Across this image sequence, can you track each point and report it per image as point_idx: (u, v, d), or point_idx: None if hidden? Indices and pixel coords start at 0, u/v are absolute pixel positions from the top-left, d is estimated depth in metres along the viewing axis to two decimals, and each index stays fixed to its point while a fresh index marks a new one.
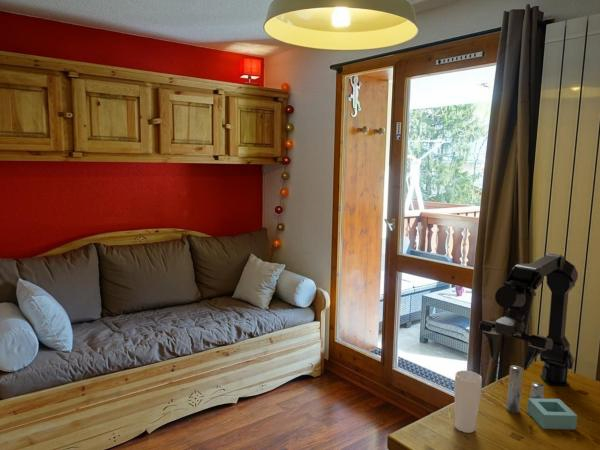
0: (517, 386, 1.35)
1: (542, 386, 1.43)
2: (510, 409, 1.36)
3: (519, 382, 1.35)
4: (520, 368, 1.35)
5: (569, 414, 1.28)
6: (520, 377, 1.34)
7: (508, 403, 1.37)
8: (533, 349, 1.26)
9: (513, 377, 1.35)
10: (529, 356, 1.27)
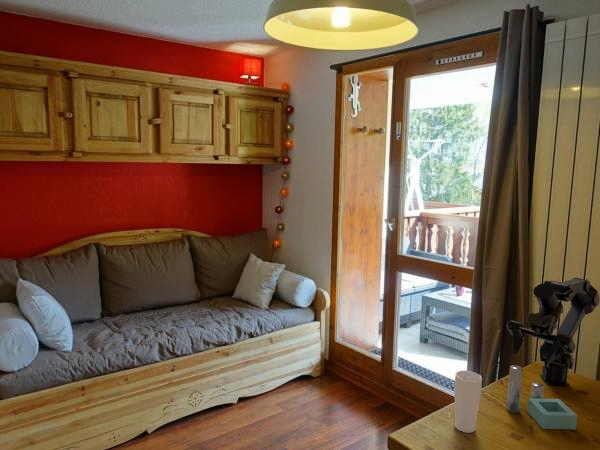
0: (517, 386, 1.35)
1: (542, 386, 1.43)
2: (510, 409, 1.36)
3: (519, 382, 1.35)
4: (520, 368, 1.35)
5: (569, 414, 1.28)
6: (520, 377, 1.34)
7: (508, 403, 1.37)
8: (558, 344, 1.37)
9: (513, 377, 1.35)
10: (552, 352, 1.37)
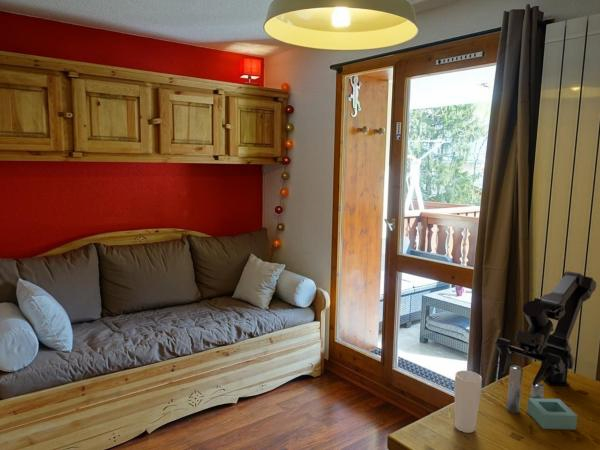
0: (517, 386, 1.35)
1: (542, 386, 1.43)
2: (510, 409, 1.36)
3: (519, 382, 1.35)
4: (520, 368, 1.35)
5: (569, 414, 1.28)
6: (520, 377, 1.34)
7: (508, 403, 1.37)
8: (547, 364, 1.33)
9: (513, 377, 1.35)
10: (541, 371, 1.34)
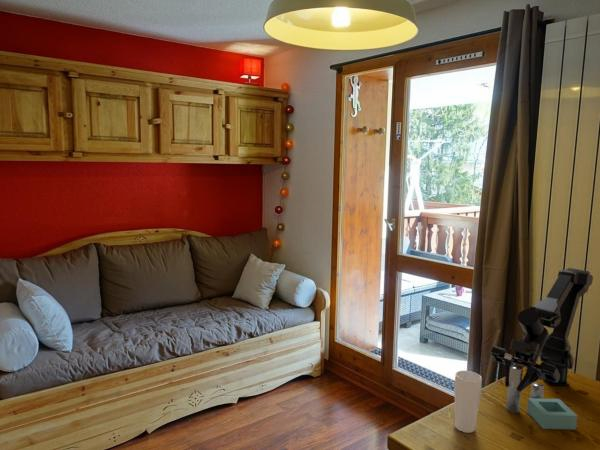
0: (517, 386, 1.35)
1: (542, 386, 1.43)
2: (510, 409, 1.36)
3: (519, 382, 1.35)
4: (520, 368, 1.35)
5: (569, 414, 1.28)
6: (520, 377, 1.34)
7: (508, 403, 1.37)
8: (532, 370, 1.34)
9: (513, 377, 1.35)
10: (526, 377, 1.34)
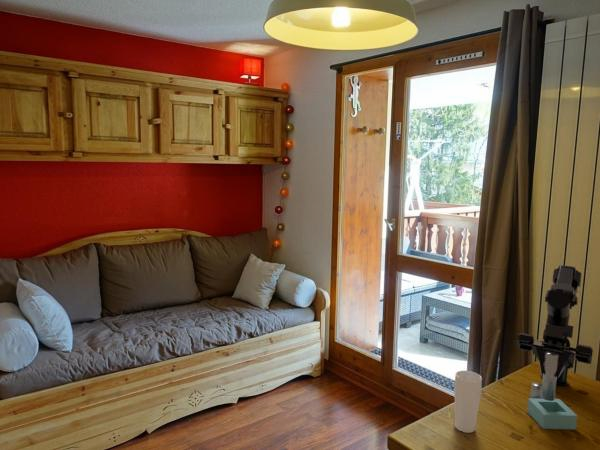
0: (555, 373, 1.30)
1: None
2: (547, 397, 1.31)
3: (556, 368, 1.30)
4: (556, 353, 1.30)
5: (569, 414, 1.28)
6: (557, 363, 1.29)
7: (545, 391, 1.31)
8: (569, 354, 1.29)
9: (551, 364, 1.29)
10: (563, 362, 1.30)
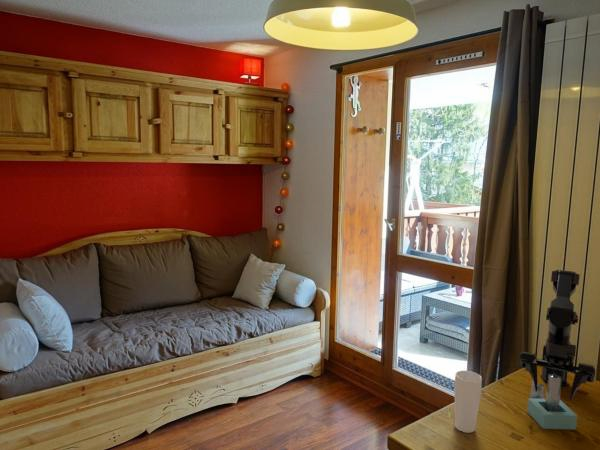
0: (558, 395, 1.30)
1: (542, 386, 1.43)
2: None
3: (559, 391, 1.30)
4: (558, 376, 1.31)
5: (569, 414, 1.28)
6: (560, 385, 1.30)
7: None
8: (581, 375, 1.29)
9: (555, 386, 1.30)
10: (576, 384, 1.29)
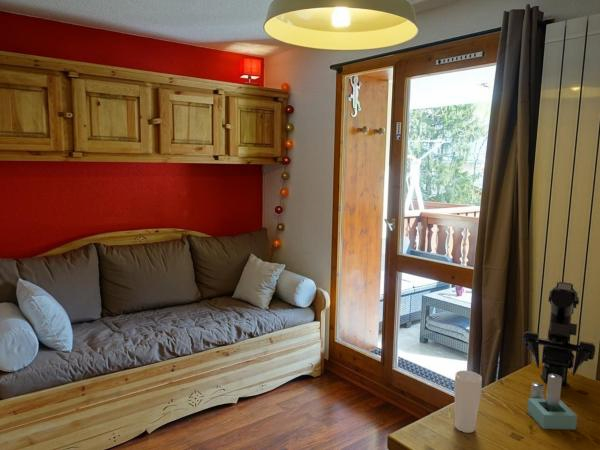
0: (558, 396, 1.30)
1: (542, 386, 1.43)
2: None
3: (560, 391, 1.30)
4: (558, 376, 1.31)
5: (569, 414, 1.28)
6: (560, 386, 1.30)
7: None
8: (584, 352, 1.36)
9: (555, 387, 1.30)
10: (578, 361, 1.36)
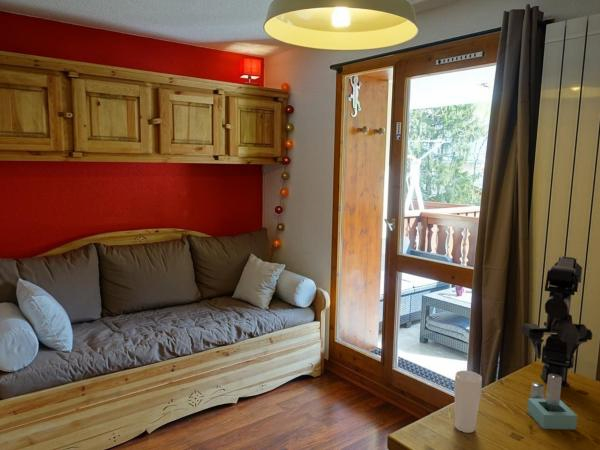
0: (558, 396, 1.30)
1: (542, 386, 1.43)
2: None
3: (559, 391, 1.30)
4: (558, 376, 1.31)
5: (569, 414, 1.28)
6: (560, 386, 1.30)
7: None
8: (582, 342, 1.39)
9: (555, 386, 1.30)
10: (575, 347, 1.41)
